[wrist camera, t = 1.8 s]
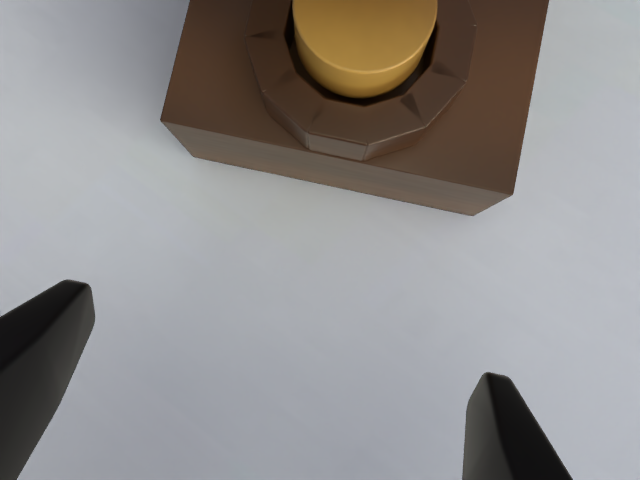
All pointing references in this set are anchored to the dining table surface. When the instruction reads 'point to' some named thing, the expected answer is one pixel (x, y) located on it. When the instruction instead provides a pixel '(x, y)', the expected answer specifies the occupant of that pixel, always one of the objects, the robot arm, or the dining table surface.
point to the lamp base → (362, 103)
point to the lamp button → (362, 42)
